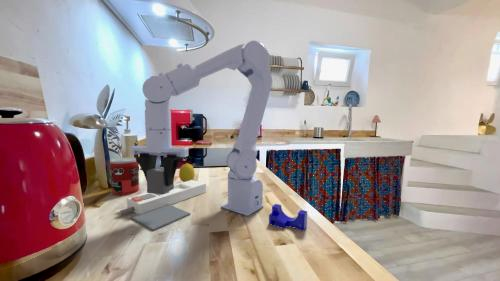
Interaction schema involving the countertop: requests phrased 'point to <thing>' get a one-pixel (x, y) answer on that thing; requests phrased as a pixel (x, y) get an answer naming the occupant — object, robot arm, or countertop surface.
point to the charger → (157, 181)
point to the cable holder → (287, 218)
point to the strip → (163, 197)
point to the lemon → (186, 172)
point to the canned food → (124, 176)
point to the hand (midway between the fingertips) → (160, 184)
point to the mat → (160, 217)
